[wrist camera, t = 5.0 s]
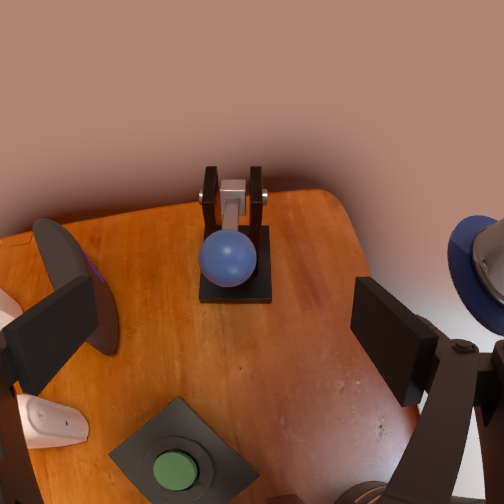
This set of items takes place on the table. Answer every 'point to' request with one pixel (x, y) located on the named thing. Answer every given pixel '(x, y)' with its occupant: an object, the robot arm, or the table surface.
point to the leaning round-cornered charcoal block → (71, 266)
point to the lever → (229, 241)
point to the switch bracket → (260, 279)
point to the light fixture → (365, 496)
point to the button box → (192, 444)
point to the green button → (175, 470)
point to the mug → (8, 309)
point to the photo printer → (50, 423)
